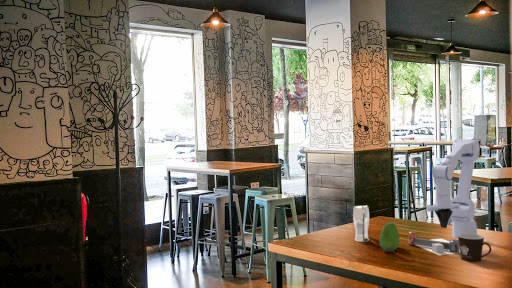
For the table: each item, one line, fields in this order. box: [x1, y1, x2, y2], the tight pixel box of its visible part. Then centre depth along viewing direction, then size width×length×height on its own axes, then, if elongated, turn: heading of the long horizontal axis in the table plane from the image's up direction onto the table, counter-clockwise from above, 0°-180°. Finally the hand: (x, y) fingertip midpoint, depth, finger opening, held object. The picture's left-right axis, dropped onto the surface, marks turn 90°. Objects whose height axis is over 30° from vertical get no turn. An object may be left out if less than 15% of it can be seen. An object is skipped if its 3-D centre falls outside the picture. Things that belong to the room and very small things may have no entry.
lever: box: [408, 231, 460, 252], centre depth 195 cm, size 21×4×5 cm, turn 46°
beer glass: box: [352, 205, 370, 243], centre depth 217 cm, size 7×7×15 cm
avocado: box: [378, 222, 400, 253], centre depth 197 cm, size 8×8×12 cm
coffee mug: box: [457, 233, 492, 263], centre depth 177 cm, size 12×9×10 cm
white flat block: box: [415, 238, 460, 256], centre depth 197 cm, size 16×22×4 cm
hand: (443, 227), depth 200 cm, fingers closed
